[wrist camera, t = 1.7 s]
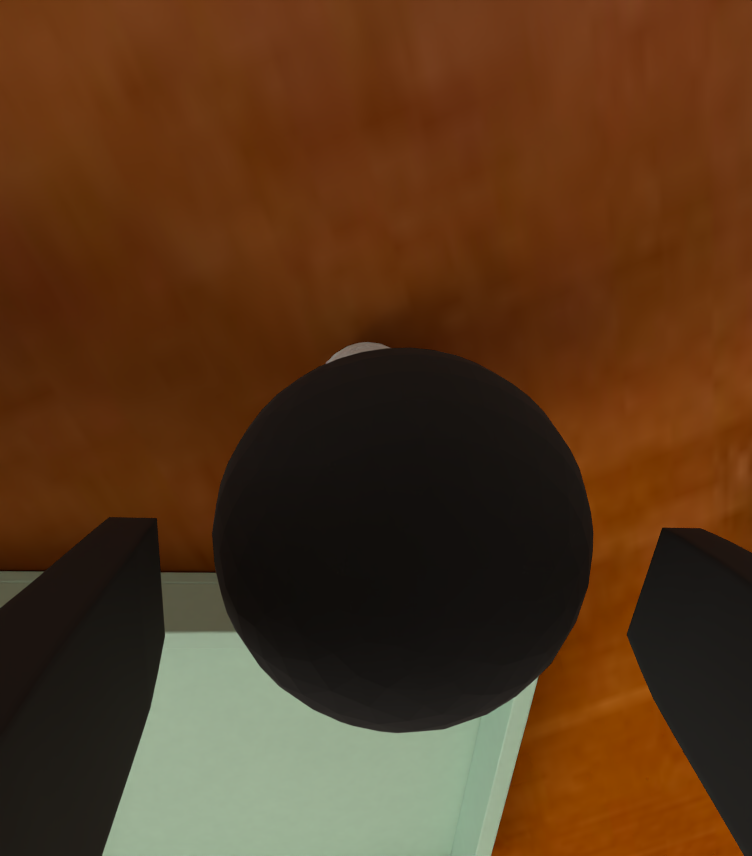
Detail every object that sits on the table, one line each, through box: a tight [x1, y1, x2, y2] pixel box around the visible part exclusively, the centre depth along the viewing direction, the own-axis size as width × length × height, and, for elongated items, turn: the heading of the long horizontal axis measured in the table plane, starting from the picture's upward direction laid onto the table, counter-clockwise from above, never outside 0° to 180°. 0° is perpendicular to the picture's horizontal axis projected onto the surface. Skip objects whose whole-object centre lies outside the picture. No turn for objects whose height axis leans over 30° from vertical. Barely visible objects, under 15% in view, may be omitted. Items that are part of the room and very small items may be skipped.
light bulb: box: [212, 342, 593, 733], centre depth 12 cm, size 6×6×10 cm
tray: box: [0, 571, 539, 856], centre depth 21 cm, size 17×15×2 cm
